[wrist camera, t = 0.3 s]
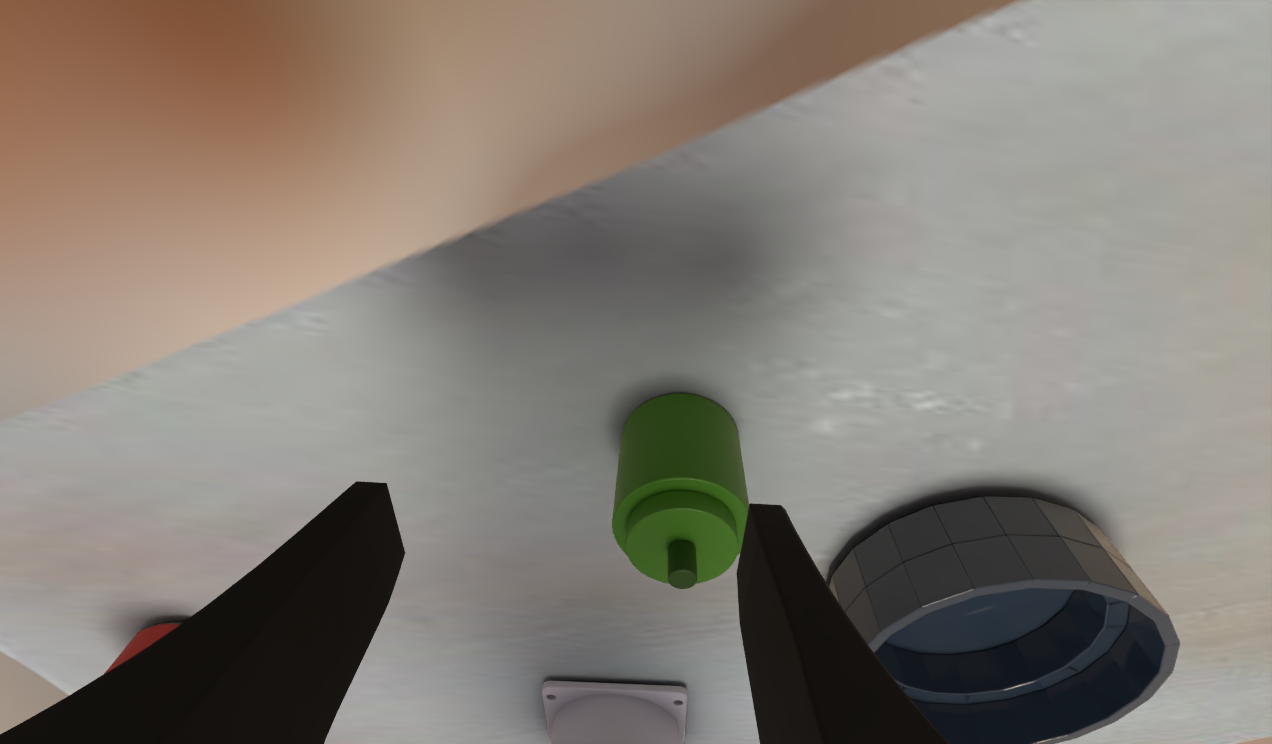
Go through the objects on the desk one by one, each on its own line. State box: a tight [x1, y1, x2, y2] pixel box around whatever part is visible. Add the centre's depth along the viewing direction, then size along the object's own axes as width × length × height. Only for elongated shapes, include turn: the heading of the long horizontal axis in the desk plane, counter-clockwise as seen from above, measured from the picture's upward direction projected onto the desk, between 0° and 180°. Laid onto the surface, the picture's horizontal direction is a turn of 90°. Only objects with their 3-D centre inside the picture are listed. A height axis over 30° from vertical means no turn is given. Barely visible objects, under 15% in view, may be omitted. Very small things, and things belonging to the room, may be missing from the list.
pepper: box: [612, 393, 749, 589], centre depth 21 cm, size 5×5×7 cm
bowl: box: [829, 496, 1180, 744], centre depth 26 cm, size 12×12×4 cm
